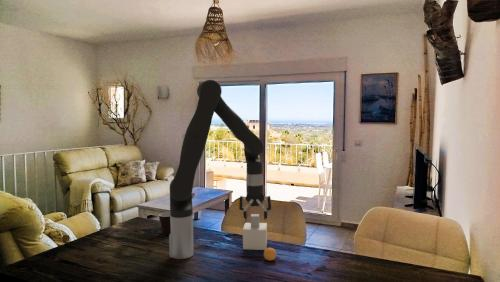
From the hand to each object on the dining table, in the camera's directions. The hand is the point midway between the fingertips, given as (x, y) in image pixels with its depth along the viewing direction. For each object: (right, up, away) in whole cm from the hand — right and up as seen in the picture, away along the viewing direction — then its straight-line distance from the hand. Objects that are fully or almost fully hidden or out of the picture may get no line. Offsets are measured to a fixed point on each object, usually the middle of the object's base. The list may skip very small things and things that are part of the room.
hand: (255, 219), depth 152 cm
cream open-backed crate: (0, -12, +1) cm, 12 cm away
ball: (+6, -10, -16) cm, 20 cm away
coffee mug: (-44, -12, +20) cm, 49 cm away
